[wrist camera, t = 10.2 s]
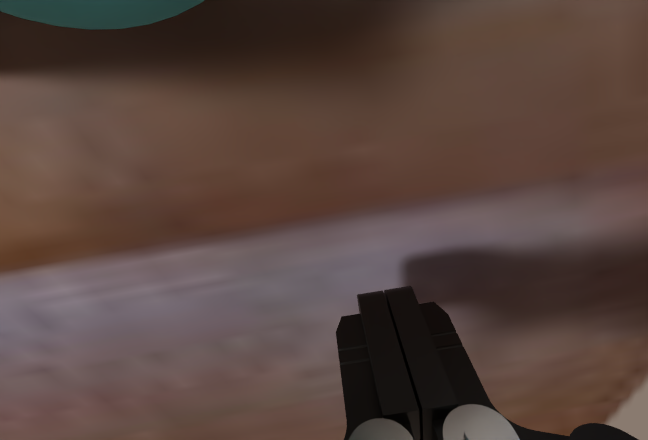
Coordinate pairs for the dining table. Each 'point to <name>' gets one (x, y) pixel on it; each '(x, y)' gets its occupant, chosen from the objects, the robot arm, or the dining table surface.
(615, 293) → the dining table surface
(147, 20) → the ball
